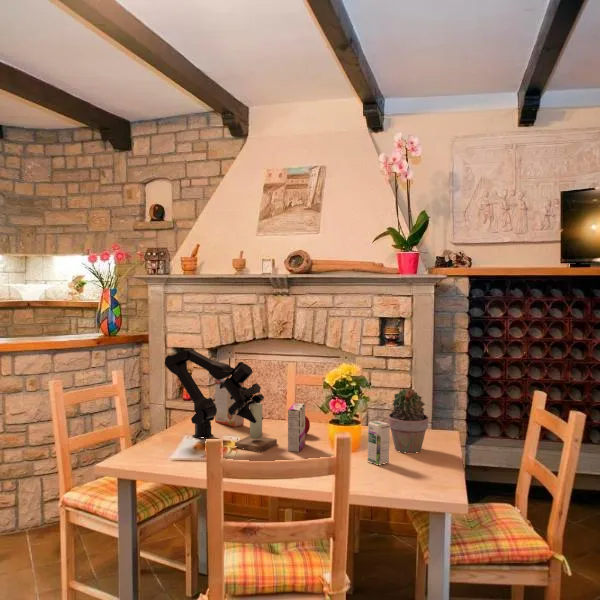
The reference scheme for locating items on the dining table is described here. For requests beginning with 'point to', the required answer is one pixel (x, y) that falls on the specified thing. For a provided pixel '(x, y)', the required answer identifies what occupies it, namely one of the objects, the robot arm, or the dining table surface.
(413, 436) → the potted plant
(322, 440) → the dining table surface
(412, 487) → the dining table surface
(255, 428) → the green blank
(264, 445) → the brown flat square slab
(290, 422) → the candy bar box
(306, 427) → the apple
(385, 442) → the syrup box
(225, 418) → the cracker box
